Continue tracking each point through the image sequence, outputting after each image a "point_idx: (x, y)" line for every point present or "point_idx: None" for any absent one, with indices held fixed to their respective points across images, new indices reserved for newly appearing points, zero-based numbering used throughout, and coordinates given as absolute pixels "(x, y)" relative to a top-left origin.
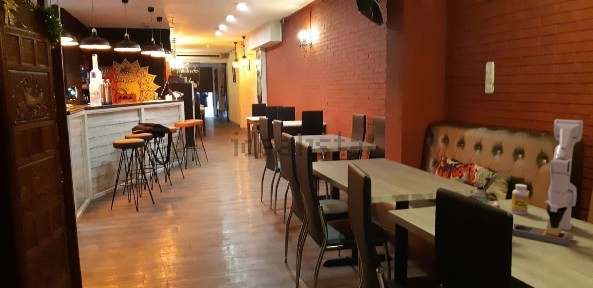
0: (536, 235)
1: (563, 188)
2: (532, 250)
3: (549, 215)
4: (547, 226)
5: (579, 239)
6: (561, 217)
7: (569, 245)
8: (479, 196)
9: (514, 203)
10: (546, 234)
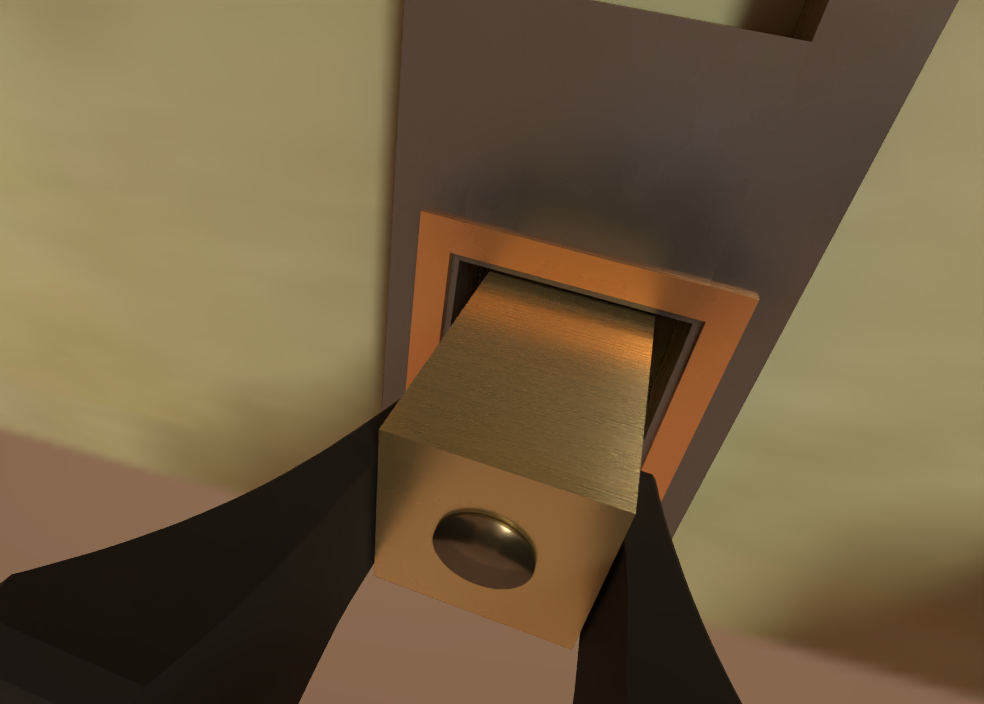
0: (401, 125)
1: None
2: (21, 73)
3: (168, 535)
4: (438, 349)
5: (695, 572)
6: (576, 694)
7: None
8: None
9: None
10: (487, 278)
